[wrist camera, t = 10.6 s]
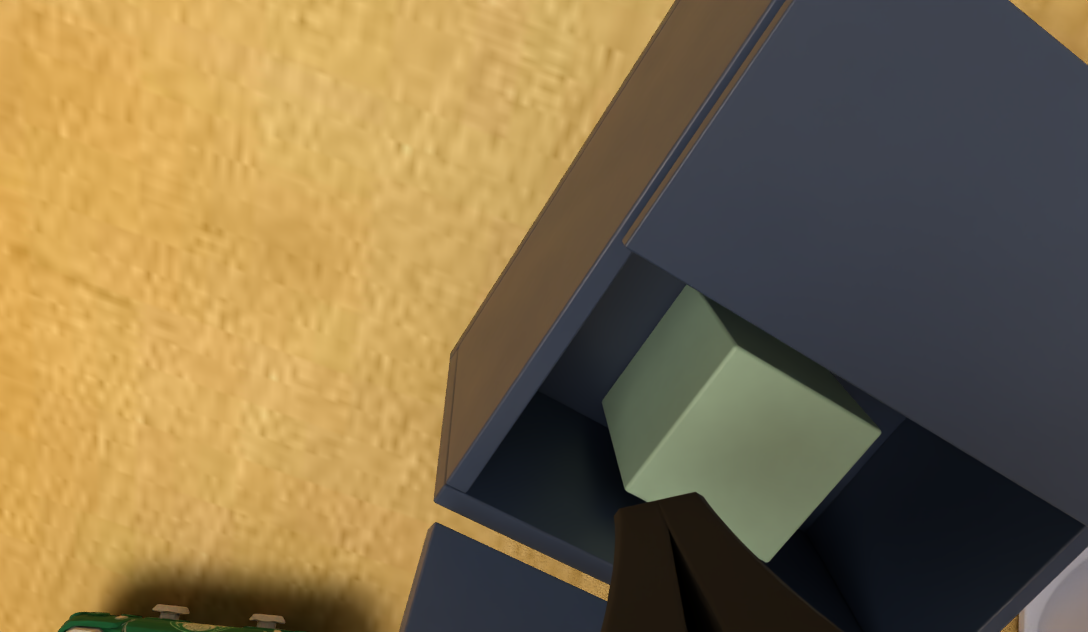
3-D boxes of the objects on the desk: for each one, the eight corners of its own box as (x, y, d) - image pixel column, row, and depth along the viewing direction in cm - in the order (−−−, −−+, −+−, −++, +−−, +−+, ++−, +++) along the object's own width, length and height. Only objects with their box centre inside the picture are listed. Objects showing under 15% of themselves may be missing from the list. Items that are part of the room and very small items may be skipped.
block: (813, 352, 22) (884, 432, 18) (721, 466, 24) (768, 565, 20) (690, 276, 21) (736, 344, 17) (599, 401, 23) (623, 491, 19)
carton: (1097, 203, 22) (1393, 308, 15) (801, 539, 26) (919, 752, 18) (725, -79, 19) (872, -121, 11) (449, 353, 22) (428, 526, 15)
